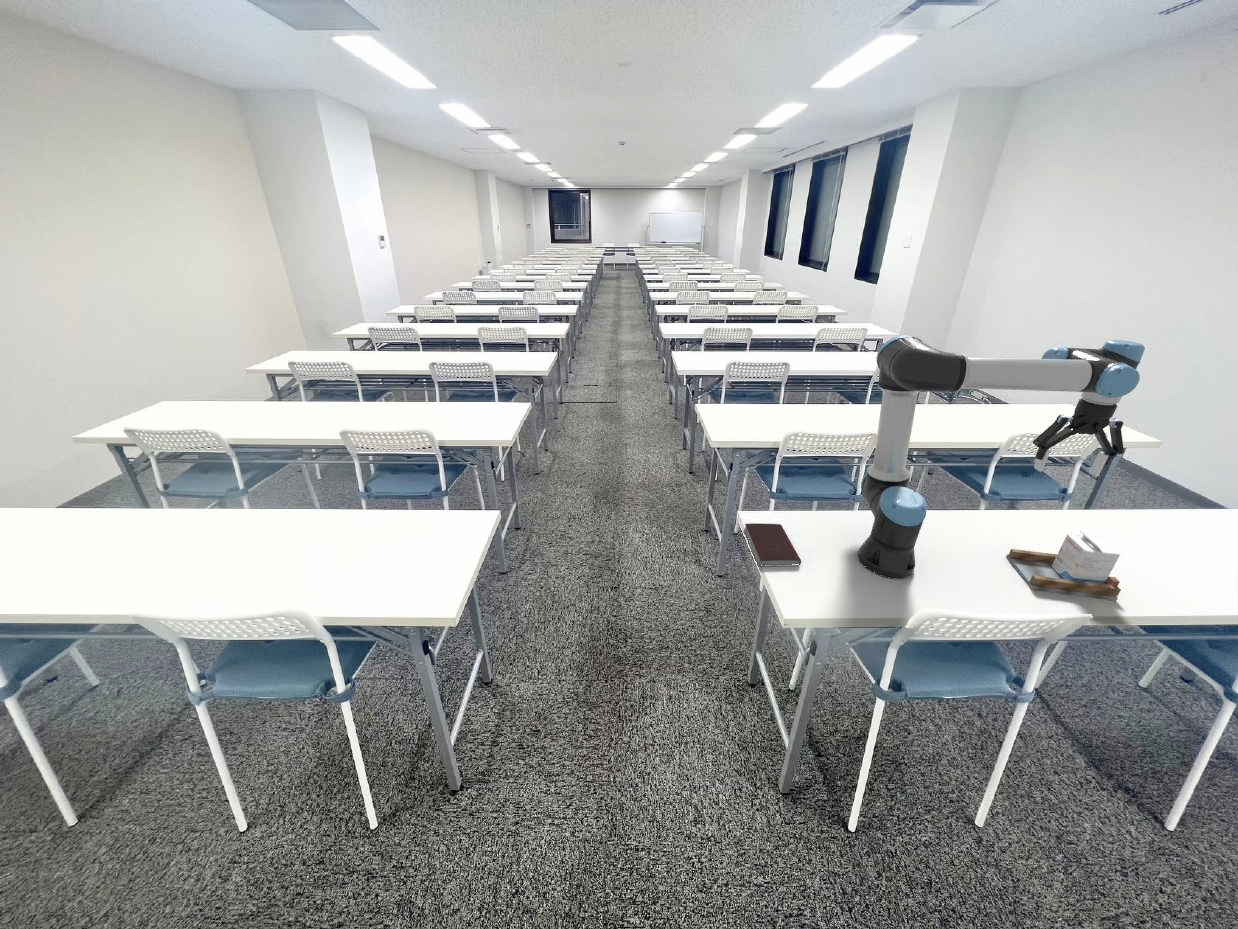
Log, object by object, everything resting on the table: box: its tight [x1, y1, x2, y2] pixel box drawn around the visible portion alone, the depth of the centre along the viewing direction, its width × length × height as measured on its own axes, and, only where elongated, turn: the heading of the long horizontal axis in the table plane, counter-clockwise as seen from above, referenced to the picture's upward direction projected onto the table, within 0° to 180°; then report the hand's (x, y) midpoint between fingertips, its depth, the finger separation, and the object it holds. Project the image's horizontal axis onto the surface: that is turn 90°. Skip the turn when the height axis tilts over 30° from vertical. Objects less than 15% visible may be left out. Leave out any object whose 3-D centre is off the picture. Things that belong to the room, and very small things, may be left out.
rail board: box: [1005, 548, 1122, 601], centre depth 137 cm, size 20×15×5 cm
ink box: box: [1052, 530, 1121, 584], centre depth 133 cm, size 9×8×13 cm
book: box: [743, 522, 802, 568], centre depth 151 cm, size 12×19×3 cm, turn 0°
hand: (1065, 472), depth 135 cm, fingers open, 13 cm apart
